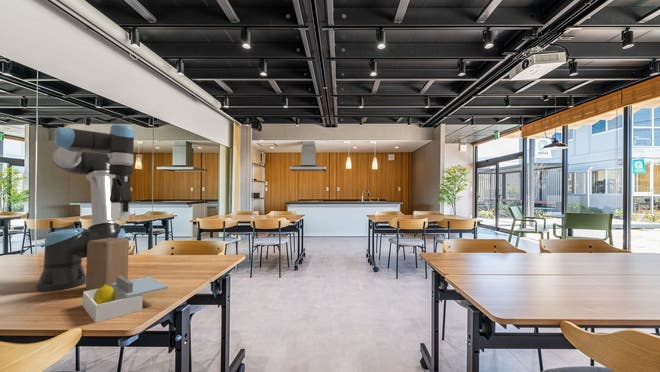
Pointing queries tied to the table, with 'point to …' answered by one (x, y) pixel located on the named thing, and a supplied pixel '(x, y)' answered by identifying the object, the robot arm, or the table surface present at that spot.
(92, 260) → the wooden block
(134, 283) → the lid
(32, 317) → the table surface
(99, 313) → the box
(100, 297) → the fruit
